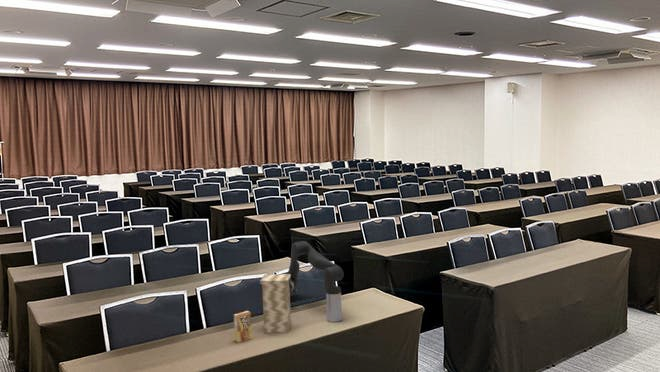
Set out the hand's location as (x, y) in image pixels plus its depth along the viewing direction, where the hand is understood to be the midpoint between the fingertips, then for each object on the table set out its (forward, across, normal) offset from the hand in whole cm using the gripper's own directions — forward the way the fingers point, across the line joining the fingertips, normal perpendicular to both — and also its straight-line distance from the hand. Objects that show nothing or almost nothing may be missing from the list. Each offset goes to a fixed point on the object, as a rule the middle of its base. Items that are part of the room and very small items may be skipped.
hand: (284, 294), depth 328 cm
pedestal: (+29, 0, +12) cm, 31 cm away
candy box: (+45, -17, +12) cm, 50 cm away
